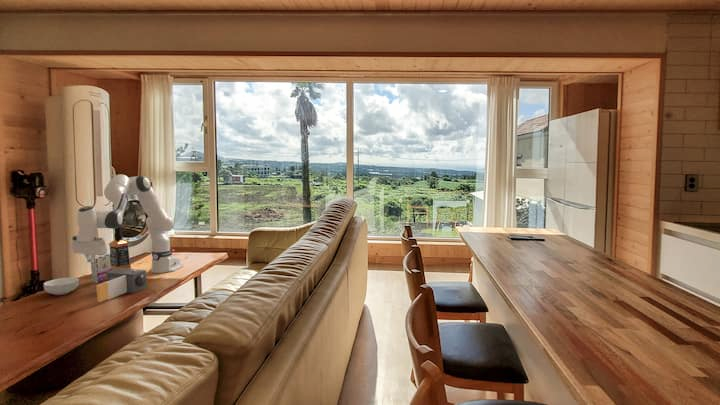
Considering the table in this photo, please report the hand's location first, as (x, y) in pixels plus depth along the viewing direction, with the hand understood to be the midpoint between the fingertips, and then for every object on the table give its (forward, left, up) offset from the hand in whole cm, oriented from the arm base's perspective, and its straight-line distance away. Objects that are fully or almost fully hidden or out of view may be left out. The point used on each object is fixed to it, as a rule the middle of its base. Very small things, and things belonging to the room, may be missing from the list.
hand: (90, 262), depth 223 cm
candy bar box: (-31, -29, -23) cm, 48 cm away
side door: (-7, +6, -22) cm, 24 cm away
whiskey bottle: (-53, -37, -23) cm, 69 cm away
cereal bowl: (-6, -31, -23) cm, 39 cm away
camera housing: (-22, 0, -22) cm, 32 cm away
